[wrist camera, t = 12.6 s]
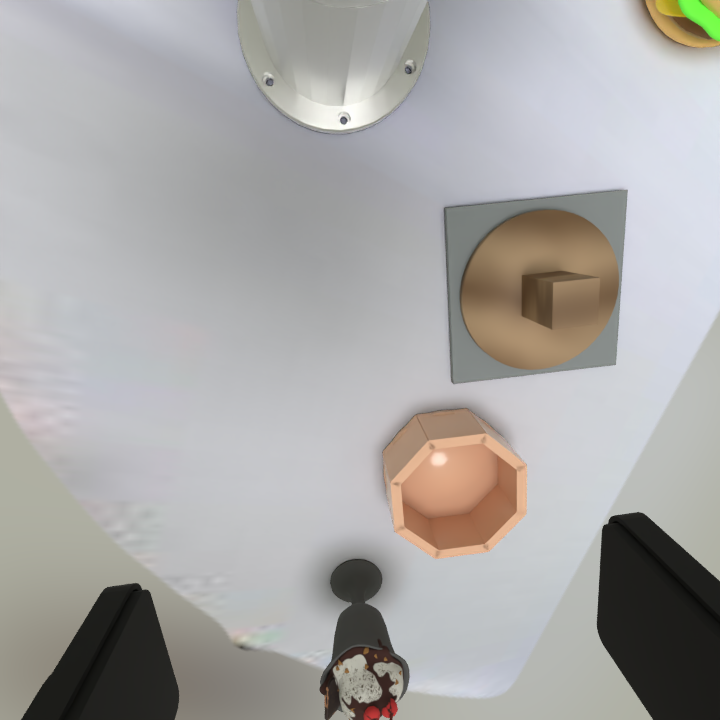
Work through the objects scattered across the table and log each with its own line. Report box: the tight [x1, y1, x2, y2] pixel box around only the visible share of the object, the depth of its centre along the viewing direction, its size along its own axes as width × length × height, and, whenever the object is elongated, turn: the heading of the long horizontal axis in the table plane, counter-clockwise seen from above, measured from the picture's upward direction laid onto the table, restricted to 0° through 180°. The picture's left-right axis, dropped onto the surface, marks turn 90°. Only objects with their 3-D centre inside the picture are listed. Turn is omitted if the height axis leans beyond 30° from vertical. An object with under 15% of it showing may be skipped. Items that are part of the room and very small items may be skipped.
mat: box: [444, 190, 628, 384], centre depth 37 cm, size 14×14×1 cm
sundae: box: [320, 560, 409, 720], centre depth 36 cm, size 7×7×15 cm
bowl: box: [382, 408, 527, 559], centre depth 38 cm, size 11×11×5 cm
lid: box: [460, 210, 619, 370], centre depth 33 cm, size 12×12×6 cm
